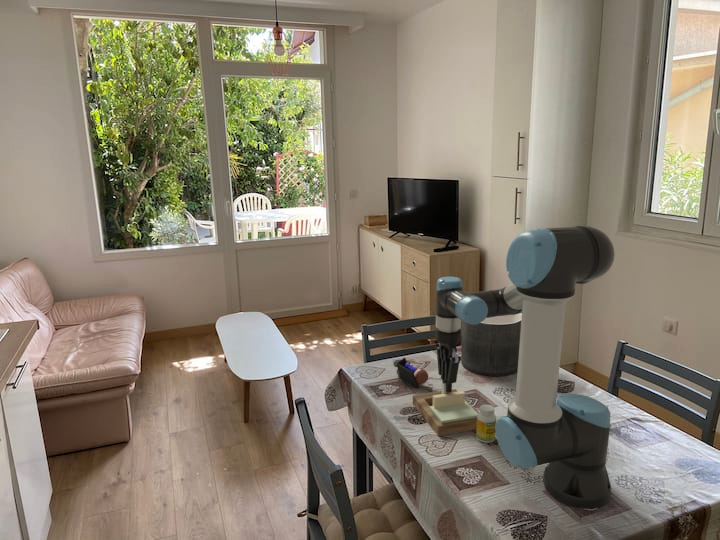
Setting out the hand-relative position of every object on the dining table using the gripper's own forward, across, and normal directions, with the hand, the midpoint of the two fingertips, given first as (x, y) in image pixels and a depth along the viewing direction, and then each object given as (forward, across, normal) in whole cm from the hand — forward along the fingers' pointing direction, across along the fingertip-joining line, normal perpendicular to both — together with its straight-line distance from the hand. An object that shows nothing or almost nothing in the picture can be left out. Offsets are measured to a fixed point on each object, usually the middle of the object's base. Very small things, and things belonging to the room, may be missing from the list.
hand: (446, 400), depth 159 cm
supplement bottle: (+5, -16, -5) cm, 17 cm away
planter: (+5, +29, -32) cm, 44 cm away
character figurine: (+5, +25, +2) cm, 25 cm away
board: (+5, -1, 0) cm, 5 cm away
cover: (+2, -5, 0) cm, 5 cm away
